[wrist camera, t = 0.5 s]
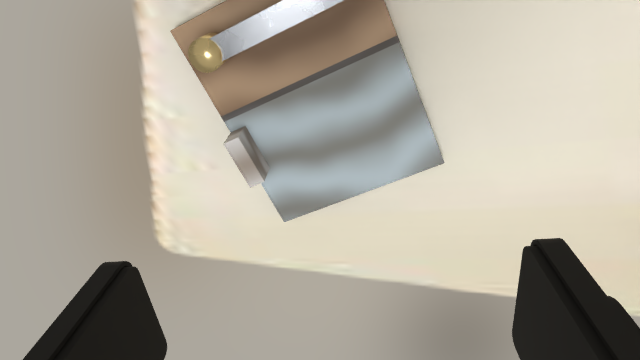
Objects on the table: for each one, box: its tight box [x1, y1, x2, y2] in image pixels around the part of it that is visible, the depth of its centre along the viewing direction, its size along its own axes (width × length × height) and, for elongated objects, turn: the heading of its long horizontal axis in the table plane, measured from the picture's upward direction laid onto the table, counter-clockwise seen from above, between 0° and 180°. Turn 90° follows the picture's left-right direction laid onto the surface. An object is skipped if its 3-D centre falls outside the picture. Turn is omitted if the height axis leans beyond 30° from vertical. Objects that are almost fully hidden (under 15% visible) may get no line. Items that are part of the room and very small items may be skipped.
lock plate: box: [171, 0, 444, 222], centre depth 39 cm, size 22×18×4 cm
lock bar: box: [188, 0, 344, 73], centre depth 35 cm, size 14×3×3 cm, turn 115°
